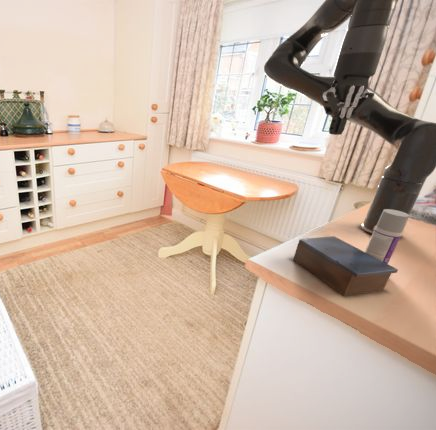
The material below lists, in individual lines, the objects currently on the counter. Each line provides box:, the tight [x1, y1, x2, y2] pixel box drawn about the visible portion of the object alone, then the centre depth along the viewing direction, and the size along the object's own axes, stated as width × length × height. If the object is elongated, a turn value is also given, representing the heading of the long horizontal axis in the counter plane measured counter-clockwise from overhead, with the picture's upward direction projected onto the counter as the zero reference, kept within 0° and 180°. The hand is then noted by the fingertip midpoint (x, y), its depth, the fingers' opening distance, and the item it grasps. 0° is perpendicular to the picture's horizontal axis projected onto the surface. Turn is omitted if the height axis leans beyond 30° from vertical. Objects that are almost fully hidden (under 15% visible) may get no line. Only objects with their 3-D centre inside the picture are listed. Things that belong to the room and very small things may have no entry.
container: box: [364, 209, 410, 265], centre depth 69 cm, size 5×5×15 cm
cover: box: [298, 235, 399, 277], centre depth 66 cm, size 15×10×1 cm
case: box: [292, 241, 392, 297], centre depth 68 cm, size 14×10×5 cm
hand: (335, 134), depth 70 cm, fingers closed
